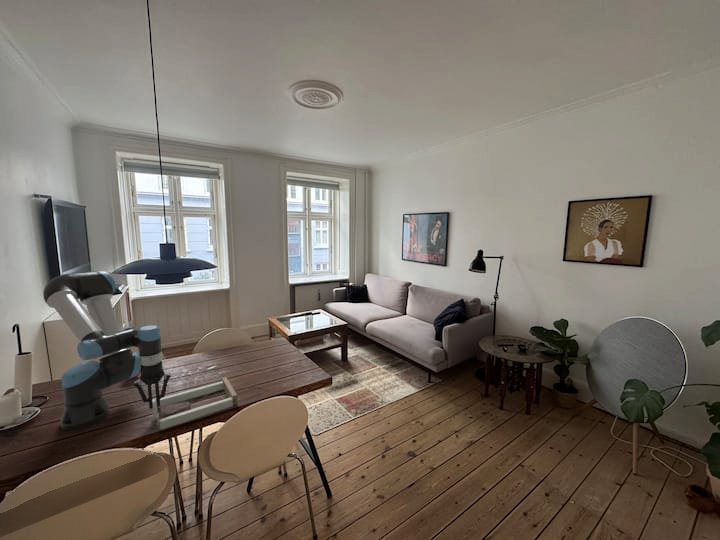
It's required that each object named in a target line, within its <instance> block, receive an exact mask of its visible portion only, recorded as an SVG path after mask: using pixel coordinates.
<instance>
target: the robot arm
mask: <svg viewBox="0 0 720 540" xmlns="http://www.w3.org/2000/svg"><path fill="white" fill-rule="evenodd" d="M115 281H116V280H115V279H114V277H113V276H112V275H111V274H110V273H109V272H107V271H104V270H103V271H101V270H100V271H98V270H97V271H96V270H95V271H94V270H93V271H86V272H76V273H64V274H63V273H62V274H59V275H57V276H55V277H54V278H51V280H49V281H48V282H47V283H46V285H45V287H44V290H43V293H42V294H43V300H44V302H45V303H46V305H47V306H48V307H49V308H52V309H55V311H56V313H58V315H59V316H60V317H61V319H62V320H63V322H64V324H66V325H67V327H68V328H69V330H71V332H72V333H73V335H74V336H75V337H76V338H77V340H78V341H79V343H78V344H77V347H76V349H77V353H78V357H79V358H80V359H81V360H82V361H85V362H82V363H78V364H76V365H74V366H71V367H70V368H68V369H67V370H66V371H65V372H63V373H62V376H61V387H62V394H63V402H64V408H63V411H62V415H61V418H60V421H59V422H60V428H61V429H63V430H65V431H72V430H73V431H74V430H79V429H83V428H86V427H89V426H92V425H94V424H96V423H98V422H101V421H102V420H103V419H105V418H106V417H107V416H108V415H109V413H110V408H109V404H108V403H107V402H106V400H105V398H104V396H103V390H105V389H107V388H109V387H112V386H115V385H117V384H120V383H122V382H125V381H128V380H130V379H132V377H135V376H136V375H137V374H138V373H139V371H140V368H141V372H140V375H139V379H137V380H134V381H133V386H134V387H135V388H137V390H138V393H139V395H140V397H141V399H142V401H143V403H148V404H149V405H148V407H149V410H152V414H153V417H156V416H159V412H158V407H159V406H160V399H161V398H163V397H166V392H167V387H168V383H169V380H170V378H171V373H170V372H168V373H167V372H165V371H164V368H163V356H162V352H163V351H162V340H161V338H162V337H161V335H162V333H161V330H160V327H159V326H158V325H144V326H142V327H138V326H126V327H125V328H124V329H122V330H121V329H120V328H121V327H120V325H119V323H118V319H117V317H116V313H115V311H114V307H113V304H112V301H111V300H112V298H113V297H114V293H115V292H116V288H117V287H116V285H117V284H116V282H115ZM83 305H85V306H86V308H87V309H86V308H85V307H84V306H83ZM133 347H136V348H138V352H136V351H132V349H131V348H133ZM138 353H139V354H138ZM97 358H98V361H95V360H93V359H97ZM90 360H92V361H90ZM86 361H87V362H86ZM162 378H163V382H162V388H161V393H160V385H159V382H160V381H161V380H162ZM142 383H143V384H145V385H147V394H146V393H145V390H144V388H143V386H142ZM152 385H154V386H155V387H154V388H155V389H154V390H155V398H153V391H152ZM147 395H148V397H147Z"/></svg>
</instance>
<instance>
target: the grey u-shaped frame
mask: <svg viewBox="0 0 720 540" xmlns="http://www.w3.org/2000/svg"><path fill="white" fill-rule="evenodd" d="M221 380H222V381H218V382H214V383H210V384H207V385H203V386H201V387H200V386H199V387H197V388H192V389H188V390H185V391H181V392H178V393H174V394H169V395H167V396H166V395H165V396H164V397H163V398H161V399H160V406H159V407H157V409H160V408H162V407H165V406H169V405H172V404H177V403H182V402H185V401H187V400H191V399H194V398H195V399H196V398H198V397H202V396H204V395H205V396H206V395H208V394H212V393H215V392H218V391H222V390H224V392H225V394H226V396H227V398H225V399H224V398H223V399H221V400H217V401H214V402H210V403H208V404H204V405H202V406H198V407H195V408H191V410H188V411H185V412H182V413H179V414H175V415H172V416H169V417H166V418H162V419H160V418H159V429H160V430H165V429H168V428H170V427H174V426H176V425H179V424H182V423H185V422H188V421H191V420H194V419H197V418H201V417H203V416H207V415H210V414H212V413H216V412H219V411H222V410H225V409H228V408H231V407H234V406H237V405H238V395H237V393H236V391H235V389H234V387H233V386H232V384H231V383H230V381H229V378H228V377H226V376H225V377H223V378H221Z"/></svg>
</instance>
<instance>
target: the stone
mask: <svg viewBox="0 0 720 540" xmlns="http://www.w3.org/2000/svg"><path fill="white" fill-rule="evenodd" d="M191 409H192V407H191V403H190V402H189V401H181V402H178V403H174V404H171V405H167V406H164V407H160V408H159V410H158V411H159V412H158V418H159V420H160V419H162V418H166V417H169V416H172V415H175V414H179V413H182V412H185V411H188V410H191Z"/></svg>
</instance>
